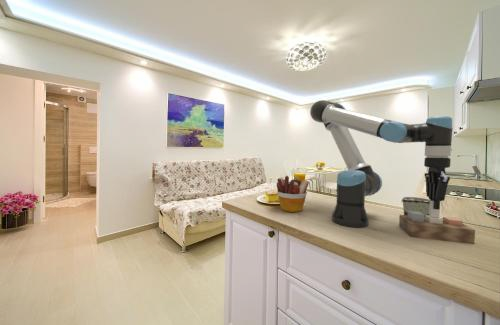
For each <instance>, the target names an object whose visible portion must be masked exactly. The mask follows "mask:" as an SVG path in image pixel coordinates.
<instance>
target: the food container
mask: <svg viewBox="0 0 500 325" xmlns="http://www.w3.org/2000/svg"><path fill="white" fill-rule="evenodd" d="M401 203H402V206H403V208H402V209H403V215H408V211H417V212H421V213H422V214H424V217H425V215H429V206H430V199H429V198H422V197H415V196H414V197H413V196H405V197H402V199H401Z"/></svg>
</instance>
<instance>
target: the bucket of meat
mask: <svg viewBox="0 0 500 325" xmlns="http://www.w3.org/2000/svg"><path fill="white" fill-rule="evenodd" d="M309 184H310V181H307V180H304V179H303V180H302V181H301V180H300V179H299V177H298V176H295V177H294V179H290V177H289V176H288V175H286V176H285V177H284V178H283V177H282V176H281V177H279V178H277V182H276V189H277V191H276V192H277V197H278V201H279V206H280V209H281V210H283V211H285V212H288V213H300V212H302V210H303V209H304V205H305V201H306V197H307V194H308V192H307V189H308V187H309Z"/></svg>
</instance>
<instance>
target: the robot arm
mask: <svg viewBox="0 0 500 325" xmlns="http://www.w3.org/2000/svg"><path fill="white" fill-rule="evenodd" d="M309 114H310V117H311V119H312V120H313V121H315V122H317V123H322V124H323V125H324V128H325V130H327V131H328V132H330V134H331V136H332V138H333V140H334V142H335V144H336V146H337V149H338V150H339V153H340V155H341V157H342V159H343V161H344V164H345V166H346V168H347V170H343V171H339V172H338V173H337V176H336V178H337V179H336V204H335V207H334V209H333V211H332V215H331V220H332V222H334V223H335V224H338V225H339V226H345V227H348V228H349V227H351V228H364V227H367V226H368V225H369V217H368V214H367V211H366V207H365V200H366V198H365V197H369V196H373V195H375V194H377V193H378V192H379V191H380V190H381V189H382V187H383V180H382V177H381V176H380V175H379V174H378V173H377V172H375V171H374V170H373V168H372V166H371V164H368V163H366V161H365V160H364V157H363V155H362V153H361V152H360V150H359V148H358V146H357V143H356V142H355V139H354V138H353V136H352V133H351V132H350V130H349V129H351V130H354V131H357V132H360V133H363V134H366V135H370V136H374V137H377V138H380V139H383V140H385V142H386V141H387V142H390V143H394V144H396V143H397V144H404V143H409V144H410V143H424V145H425V146H424V156H425V157H424V163H423V166H424V167H426V168H428V171H427V172H425V173H424V178H425V189H426V192H425V193H426V197H427V198H428V199H429V200H430V206H429V216H430V217H438V218H439V217H440V215H441V214H440V211H441V202H444V201H445V199H446V194H447V190H448V189H447V188H448V185H449V182H450V180H451V177H450V176H447V174H446V168H447V169H448V168H450V167H451V161H452V160H451V158H450V157H451V156H452V155H451V154H452V153H451V152H452V150H453V149H452V142H453V141H452V139H453V118H452V117H451V116H447V115H446V116H444V115H440V116H433V117H427V119H426V121H425V122H423V123H415V124H413V123H412V124H408V123H404V122H400V121H397V120H391V119H386V118H382V117H379V116H373V115H370V114H365V113H361V112H358V111H357V112H356V111H353V110H348V109H346V108H345V106H344V105H342V104H340V103H338V102H332V101H328V100H323V99H322V100H317V101H315V102H314V103H313V104H312V106H311V107H310V113H309Z"/></svg>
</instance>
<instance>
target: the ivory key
mask: <svg viewBox="0 0 500 325" xmlns="http://www.w3.org/2000/svg"><path fill="white" fill-rule="evenodd" d="M441 218H442V217H440V216H439V218H438V217H430V216H429V215H425V221H427V222H428V223H436V224H443V219H441Z"/></svg>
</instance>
